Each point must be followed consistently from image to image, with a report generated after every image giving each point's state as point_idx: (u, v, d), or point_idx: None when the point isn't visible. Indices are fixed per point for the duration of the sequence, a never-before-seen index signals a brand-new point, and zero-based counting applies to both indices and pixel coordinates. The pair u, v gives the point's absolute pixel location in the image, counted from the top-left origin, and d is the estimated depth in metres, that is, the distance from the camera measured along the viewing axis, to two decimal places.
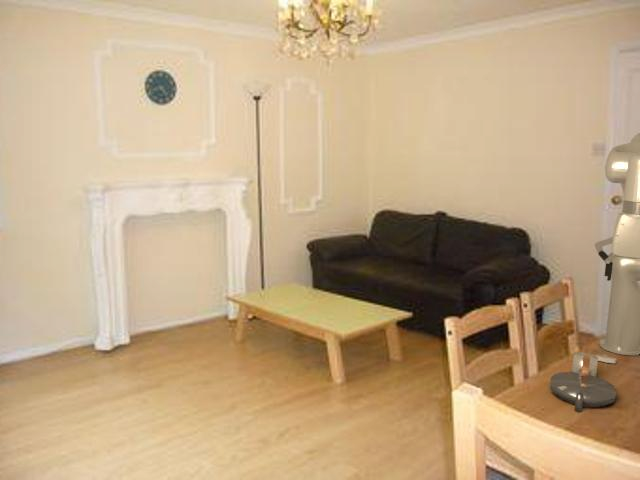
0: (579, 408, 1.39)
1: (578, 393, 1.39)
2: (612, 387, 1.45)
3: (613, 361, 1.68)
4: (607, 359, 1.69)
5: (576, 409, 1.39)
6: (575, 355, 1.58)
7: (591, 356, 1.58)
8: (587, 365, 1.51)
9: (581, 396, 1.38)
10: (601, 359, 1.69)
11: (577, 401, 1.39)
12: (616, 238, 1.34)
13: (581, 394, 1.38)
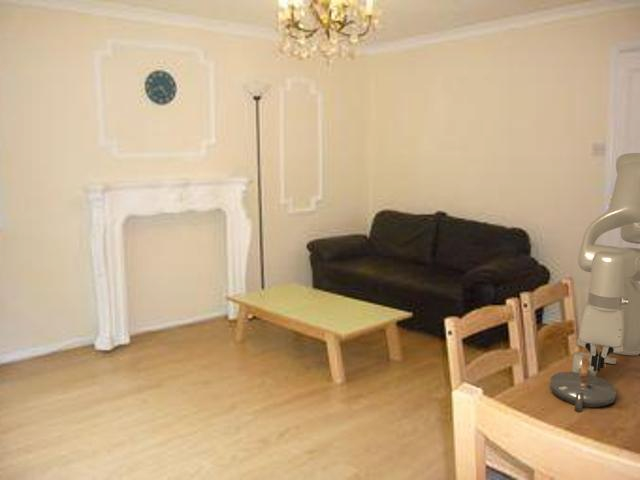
0: (579, 408, 1.39)
1: (578, 393, 1.39)
2: (612, 387, 1.45)
3: (613, 361, 1.68)
4: (607, 359, 1.68)
5: (576, 409, 1.39)
6: (575, 355, 1.58)
7: (591, 356, 1.58)
8: (586, 365, 1.51)
9: (581, 396, 1.38)
10: None
11: (577, 401, 1.39)
12: (582, 326, 1.48)
13: (581, 394, 1.38)
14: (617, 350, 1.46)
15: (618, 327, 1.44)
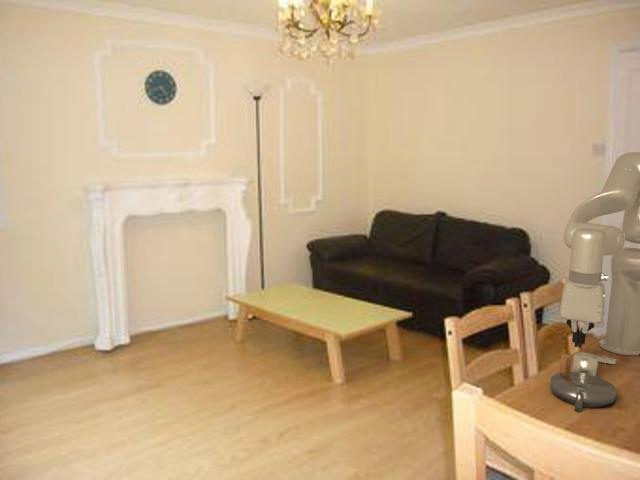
0: (579, 408, 1.39)
1: (578, 393, 1.39)
2: (598, 378, 1.50)
3: (613, 362, 1.68)
4: (607, 360, 1.68)
5: (576, 409, 1.39)
6: (575, 355, 1.58)
7: (591, 356, 1.58)
8: (569, 364, 1.51)
9: (581, 396, 1.38)
10: (601, 360, 1.69)
11: (577, 401, 1.39)
12: (563, 303, 1.49)
13: (581, 394, 1.38)
14: (597, 326, 1.48)
15: (597, 303, 1.45)
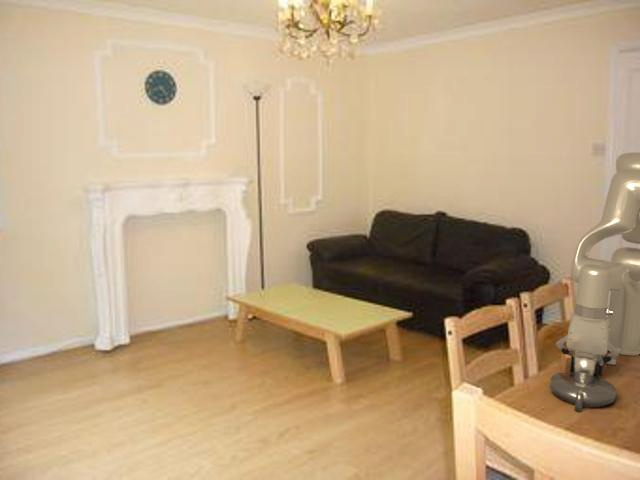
0: (579, 408, 1.39)
1: (578, 393, 1.39)
2: (598, 378, 1.50)
3: (613, 362, 1.67)
4: None
5: (576, 409, 1.39)
6: (575, 355, 1.59)
7: (591, 356, 1.58)
8: (569, 364, 1.51)
9: (581, 396, 1.38)
10: None
11: (577, 401, 1.39)
12: (570, 335, 1.57)
13: (581, 394, 1.38)
14: (614, 356, 1.54)
15: (602, 336, 1.53)
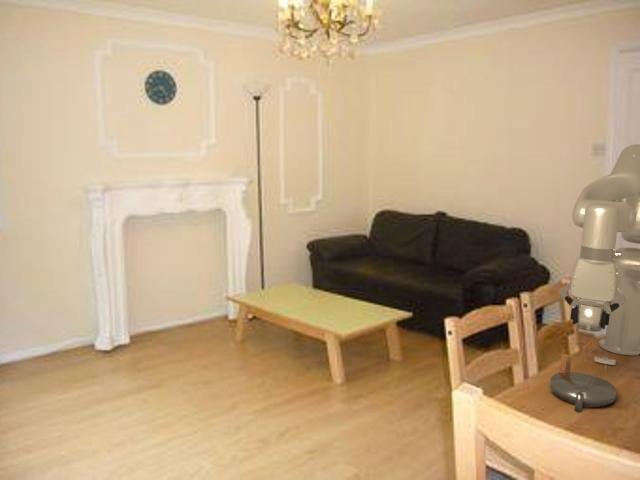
0: (579, 408, 1.39)
1: (578, 393, 1.39)
2: (598, 378, 1.50)
3: (613, 363, 1.67)
4: (607, 361, 1.67)
5: (576, 409, 1.39)
6: (579, 303, 1.46)
7: (597, 304, 1.45)
8: (569, 364, 1.51)
9: (581, 396, 1.38)
10: (601, 361, 1.68)
11: (577, 401, 1.39)
12: (574, 280, 1.44)
13: (581, 394, 1.38)
14: (622, 303, 1.41)
15: (610, 280, 1.40)
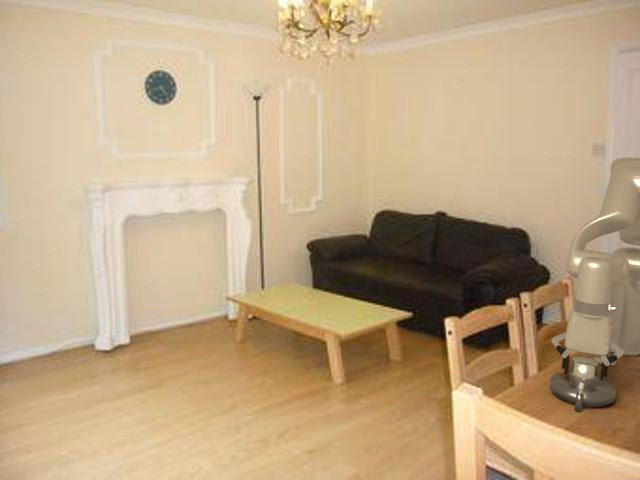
0: (579, 408, 1.39)
1: (578, 393, 1.39)
2: (598, 378, 1.50)
3: (613, 363, 1.67)
4: None
5: (576, 409, 1.39)
6: (573, 360, 1.46)
7: (591, 361, 1.46)
8: (569, 364, 1.51)
9: (581, 396, 1.38)
10: (600, 361, 1.68)
11: (577, 401, 1.39)
12: (568, 333, 1.44)
13: (581, 394, 1.38)
14: (619, 354, 1.41)
15: (604, 334, 1.40)
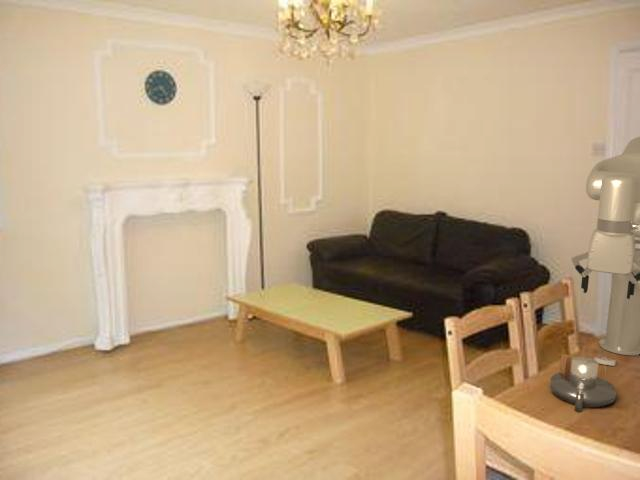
0: (579, 408, 1.39)
1: (578, 393, 1.39)
2: (598, 378, 1.50)
3: (613, 363, 1.67)
4: (606, 361, 1.67)
5: (576, 409, 1.39)
6: (573, 360, 1.46)
7: (591, 361, 1.46)
8: (569, 364, 1.51)
9: (581, 396, 1.38)
10: (600, 361, 1.68)
11: (577, 401, 1.39)
12: (591, 254, 1.43)
13: (581, 394, 1.38)
14: None
15: (627, 252, 1.39)
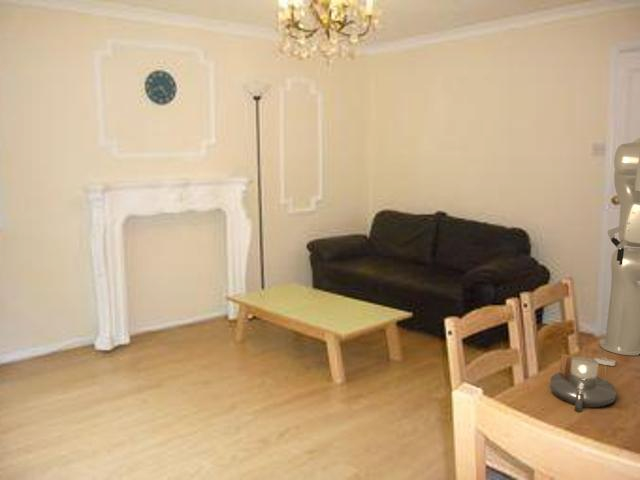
0: (579, 408, 1.39)
1: (578, 393, 1.39)
2: (598, 378, 1.50)
3: (612, 363, 1.66)
4: (606, 362, 1.67)
5: (576, 409, 1.39)
6: (573, 360, 1.46)
7: (591, 361, 1.46)
8: (569, 364, 1.51)
9: (581, 396, 1.38)
10: (600, 362, 1.67)
11: (577, 401, 1.39)
12: (627, 225, 1.46)
13: (581, 394, 1.38)
14: None
15: None
